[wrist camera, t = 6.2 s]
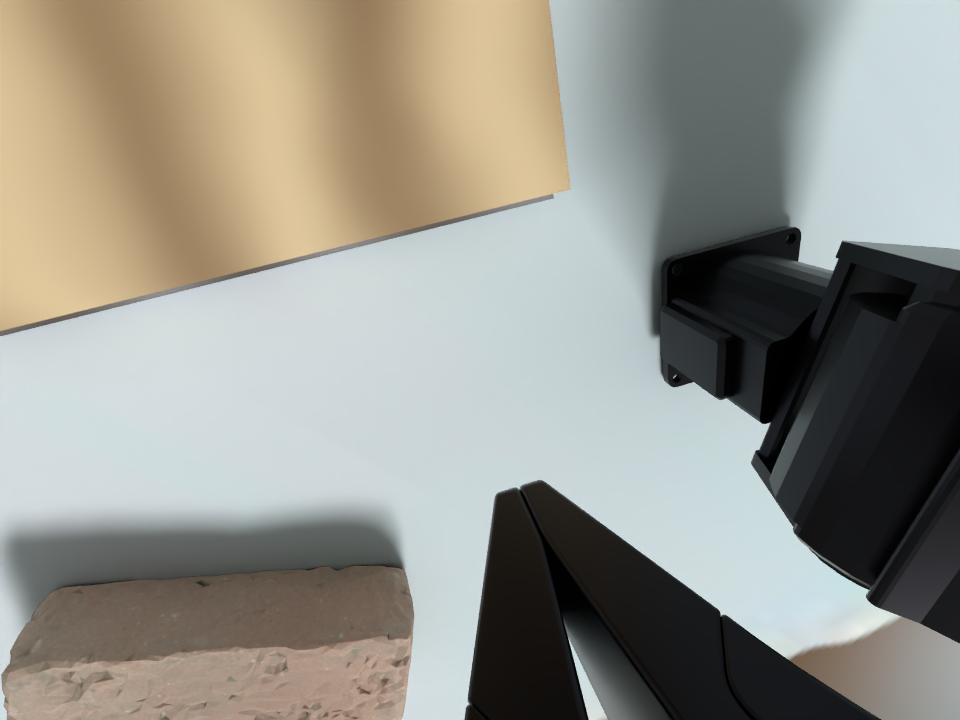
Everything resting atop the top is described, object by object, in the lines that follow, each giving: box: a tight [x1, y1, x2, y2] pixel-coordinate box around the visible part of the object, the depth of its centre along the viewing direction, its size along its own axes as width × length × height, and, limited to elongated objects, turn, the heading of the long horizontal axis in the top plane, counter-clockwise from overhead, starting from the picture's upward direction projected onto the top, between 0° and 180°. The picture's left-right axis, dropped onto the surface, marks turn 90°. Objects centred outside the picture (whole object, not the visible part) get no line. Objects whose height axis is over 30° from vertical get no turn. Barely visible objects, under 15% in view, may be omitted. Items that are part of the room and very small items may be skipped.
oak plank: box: [0, 0, 570, 331], centre depth 12 cm, size 22×10×2 cm, turn 102°
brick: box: [1, 566, 414, 720], centre depth 22 cm, size 17×8×5 cm, turn 81°
